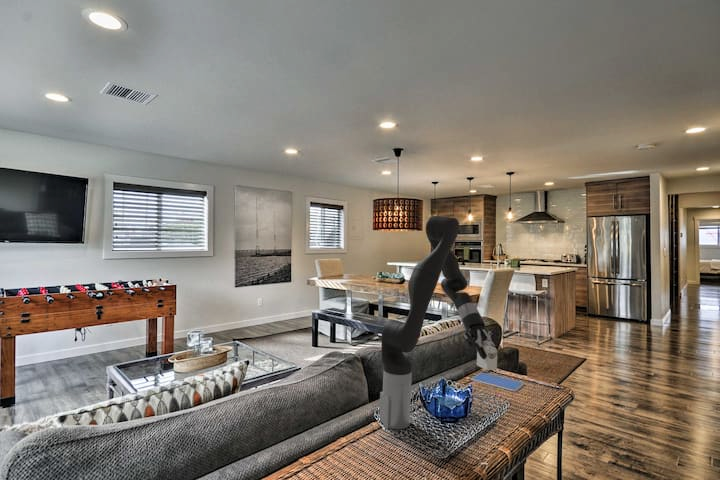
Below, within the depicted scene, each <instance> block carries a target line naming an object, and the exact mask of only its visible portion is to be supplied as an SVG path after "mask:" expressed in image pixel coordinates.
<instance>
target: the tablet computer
mask: <svg viewBox="0 0 720 480" xmlns="http://www.w3.org/2000/svg"><path fill="white" fill-rule="evenodd" d="M470 381H473V382H475V383H481V384H483V385H487V386H491V387H494V388H499V389H502V390H507V391H510V392H513V393H516V392H518V391H519V390H520V389H521V388H523V386H525V383H524V382H522V381H517V380H514V379H509V378H507V377H502V376H498V375H494V374H490V373H485V372H480V373H478V374H476V375H475V376H473V377H472V378H470Z"/></svg>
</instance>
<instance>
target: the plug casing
mask: <svg viewBox="0 0 720 480" xmlns="http://www.w3.org/2000/svg"><path fill="white" fill-rule="evenodd" d="M481 344H482V347H483V349H484V351H485V353H486V355H487V357H486V358H485V359H482V358H481V357H480V355H479V353H478V350H476V366H477V367H480V368H481V369H484V370H485V371H493V370H497V369H498V357H497V352H498V349H497V348H496V346H495V347H493V346H491V342H490V341H487V340H486V341H484V343H483V342H481Z"/></svg>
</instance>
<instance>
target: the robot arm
mask: <svg viewBox="0 0 720 480" xmlns="http://www.w3.org/2000/svg"><path fill="white" fill-rule="evenodd" d="M459 230H460V222H459V220H458V219H457V218H455V217H450V216H445V215H444V216H442V215H431V216H429V217H428V219H427V221H426V223H425V233H426V237H427V239H428V241H429V243H430V245H431V248H432V249H433V251H432V252H430V253H429V254H428V255H426V256H425V257H424V258H422V259H420V261H418V263H416V264H415V266H414V268H413V269H412V273H411V274H410V277H409V281H408V284H407V286H408V287H407V288H408V289H407V290H408V297H409V302H410V303H409V305H410V306H409V312H408V314H407V318H406V320H405V321H401V320H396V319H391V320H387V322H386V323H385V324H384V326H383V328H382V331H381V340H380V341H381V362H382V364H383V371H382V372H383V375H382V377H383V378H382V391H380V392H379V412H378V413H379V417H378V419H379V418H380V420H381V422H382V423H383V424H382V423H381V422H380V423H381V424H382V425H383V426H384V427H385V428H386V429H393V430H404V429H407V428H408V427H409V426H410V420H411V399H412V398H411V396H412V374H413V373H412V371H413V370H412V369H413V364H412V362H411V361H410V359H408V358H407V357H406V356H405V354H404V353H406V354H408V353H411V352H412V351H413V350H415V348H416V346H417V344H418V342H419V340H420V335H421V332H422V329H423V325H424V322H425V318H426V317H425V316H426V314H427V311H428V308H429V305H430V302H431V299H432V297H433V294H434V293H435V290H436V287H437V285H438V283H439V278H440V276H441V273H442V275H443V279H442V280H441V282H440V286H441V289H442V291H443V292H444V293H445V295H447V297H449V299H450V300H451V301H452V303H453V305H454V306H455V309H456V311H457V313H458V316H459V318H460V320H461V323H462V324H463V327H464V328H465V331H466V332H465V333H464V334H462V338H463V339H464V341H465V342H466V343H467V345H468V346H469V347H470V349H472V350H476V351H477V350H478V353H479V355H480V357H481V358H482V359H485V358H486V357H487V355H486V353H485V351H484V349H483V347H482V344H481V343H484V341H490V342H491V346H493V347H495V348H496V346H497V345H499V343H498V338H497V335H496V334H497V333H496V330H491V331H490V330H488V329H487V328H486V323H485V321H484V319H483V317H482V315H481V313H480V311H479V310H478V308H477V307H476V305H475V303H474V301H473V299H472V298H471V295H470V294H469V293H468V292H464V290H465V289H466V288H467V287H468V281H467V279H466V277H465V275H464V274H463V273H462V271H461V269H460V265H459V260H458V258H457V256H456V254H455V253H454V252H453V251H452V250H451V249H452V248H453V245H454V243H455V241H456V240H457V237H458V234H459ZM461 291H463V292H461ZM498 357H499V352H498V351H497V358H498Z"/></svg>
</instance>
